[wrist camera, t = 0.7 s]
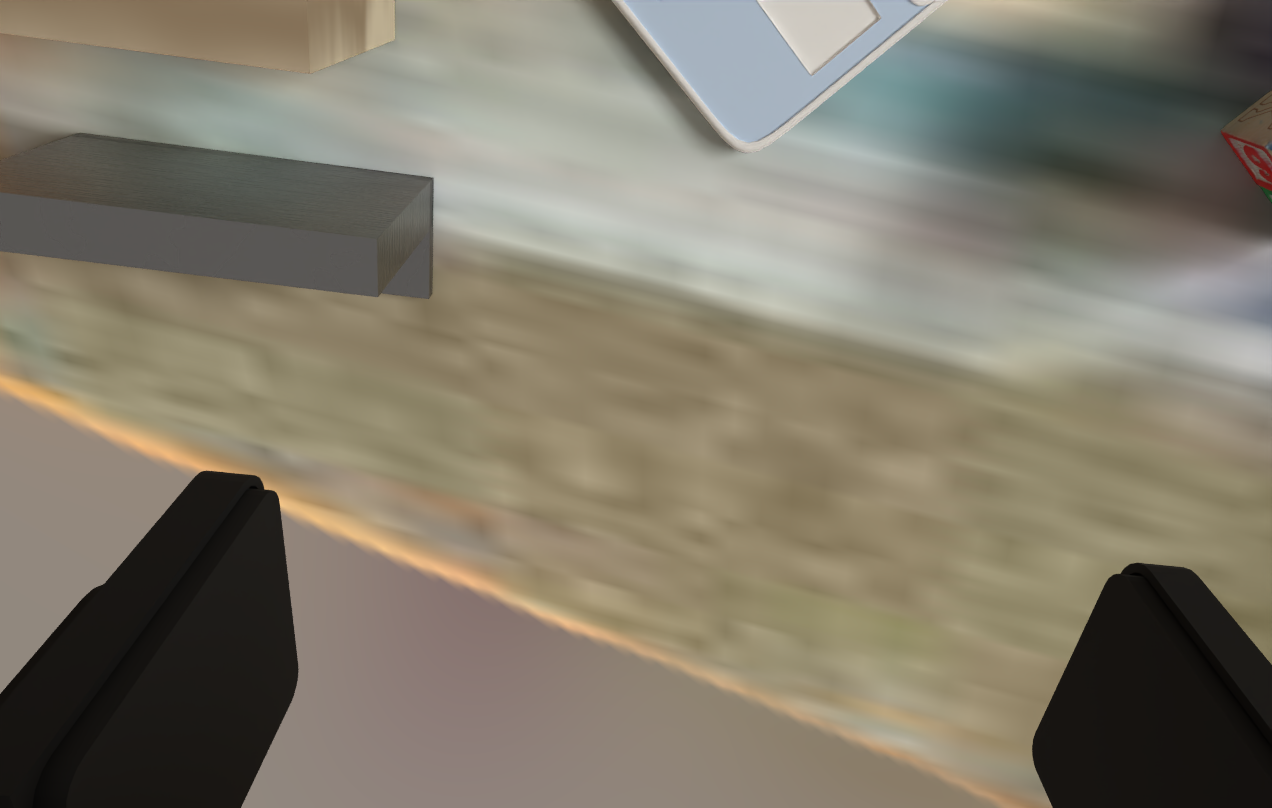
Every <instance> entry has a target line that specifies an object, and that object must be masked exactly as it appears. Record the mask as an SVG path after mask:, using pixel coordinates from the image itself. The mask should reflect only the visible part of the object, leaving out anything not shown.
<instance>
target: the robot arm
mask: <svg viewBox="0 0 1272 808" xmlns="http://www.w3.org/2000/svg"><path fill="white" fill-rule="evenodd" d="M297 680H298V661H297V651H296V643H295V634H294V625H293V616H292V608H291V599H290V590H289V581H288V573H287V564H286V555H285V546H284V538H283V530H282V520H281V512H280V503H279V498H278V495H277V493H276V492H275V491H273V490H264V486H263V483H262V481H261V479H260V478H259V477H257V476H255V475H245V474H235V473H225V472H215V471H203V472H200V473H199V474H198V475H197V476H195V477H194V479H193V480H192V481H191V482H190V483H189V484H188V486H187V487H186V488H185V489H184V490H183V492H182V493H181V494H180V495H179V496H178V497H177V499H176V500H175V501H174V502H173V503H172V505H171V506H170V507H169V508H168V509H167V511H166V512H165V513H164V514H163V515H162V517H161V518H160V519H159V520H158V521H157V522H156V523H155V525H154V526H153V527H152V528H151V530H150V531H149V532H148V533H147V534H146V535H145V537H144V538H143V539H142V540H141V541H140V542H139V544H138V545H137V546H136V547H135V548H134V549H133V551H132V552H131V553H130V554H129V555H128V557H127V558H126V559H125V560H124V561H123V563H122V564H121V565H120V566H119V567H118V568H117V570H116V571H115V572H114V573H113V574H112V575H111V577H110V578H109V579H108V580H107V581H106V583H105V584H103V585H101V586H98V587H96V588H94V589H93V590H91V591H90V592H89V593H88V594H87V595H86V596H85V597H84V598H83V599H82V600H81V601H80V602H79V603H78V604H77V606H76V607H75V608H74V609H73V610H72V611H71V612H70V614H69V615H68V616H67V617H66V618H65V619H64V621H63V622H62V623H61V624H60V625H59V627H57V629H56V630H55V631H54V632H53V633H52V634H51V636H50V637H49V638H48V639H47V640H46V641H45V643H44V644H43V645H42V646H41V647H40V648H39V650H38V651H37V652H36V653H35V654H34V655H33V657H32V658H31V659H30V660H29V661H28V662H27V664H26V665H25V666H24V667H23V668H22V669H21V671H20V672H19V673H18V674H17V675H16V676H15V678H14V679H13V680H12V681H11V682H10V683H9V685H8V686H7V687H6V688H5V689H4V690H3V691H2V693H1V694H0V808H241V806H242V804H243V802H244V800H245V798H246V796H247V793H248V792H249V789H250V787H251V785H252V783H253V781H254V779H255V777H256V775H257V773H258V770H259V768H260V766H261V764H262V762H263V760H264V758H265V756H266V754H267V751H268V749H269V747H270V745H271V743H272V741H273V739H274V737H275V735H276V732H277V730H278V729H279V726H280V724H281V722H282V720H283V718H284V716H285V714H286V712H287V710H288V707H289V705H290V703H291V701H292V698H293V696H294V693H295V689H296V685H297ZM1032 754H1033V761H1034V765H1035V768H1036V771H1037V773H1038V775H1039V778H1040V780H1041V782H1042V784H1043V787H1044V789H1045V791H1046V793H1047V796H1048V798H1049V800H1050V802H1051V805H1052V807H1053V808H1272V665H1271V663H1270V662H1269V661H1268V660H1267V659H1266V657H1265V656H1264V655H1263V654H1262V653H1261V651H1260V650H1259V649H1258V648H1257V647H1256V645H1255V644H1254V643H1253V642H1252V641H1251V639H1250V638H1249V637H1248V636H1247V635H1246V633H1245V632H1244V631H1243V630H1242V628H1241V627H1240V626H1239V625H1238V624H1237V622H1236V621H1235V620H1234V619H1233V618H1232V616H1231V615H1230V614H1229V613H1228V612H1227V610H1226V609H1225V608H1224V607H1223V606H1222V604H1221V603H1220V602H1219V601H1218V599H1217V598H1216V597H1215V596H1214V595H1213V593H1212V592H1211V591H1210V590H1209V589H1208V587H1207V586H1206V585H1205V584H1204V583H1203V581H1202V580H1201V579H1200V578H1199V577H1198V576H1197V575H1196V574H1195V573H1194V572H1193V571H1192V570H1190V569H1187V568H1184V567H1174V566H1164V565H1154V564H1144V563H1133V564H1130V565H1128V566H1127V567H1125V568H1124V569H1123V571H1122V572H1121V574H1115V575H1113V576H1111V577H1110V578H1109V579H1108V580H1107V582H1106V584H1105V585H1104V588H1103V590H1102V592H1101V594H1100V596H1099V598H1098V600H1097V603H1096V605H1095V607H1094V609H1093V611H1092V613H1091V615H1090V618H1089V620H1088V622H1087V624H1086V626H1085V628H1084V630H1083V632H1082V635H1081V637H1080V639H1079V641H1078V643H1077V645H1076V647H1075V650H1074V652H1073V654H1072V656H1071V658H1070V660H1069V662H1068V664H1067V667H1066V669H1065V671H1064V673H1063V675H1062V677H1061V679H1060V682H1059V684H1058V686H1057V688H1056V690H1055V692H1054V694H1053V697H1052V699H1051V701H1050V703H1049V705H1048V707H1047V709H1046V711H1045V714H1044V716H1043V718H1042V720H1041V722H1040V724H1039V726H1038V729H1037V731H1036V733H1035V736H1034V739H1033V745H1032Z"/></svg>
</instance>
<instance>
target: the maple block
mask: <svg viewBox="0 0 1272 808" xmlns="http://www.w3.org/2000/svg"><path fill="white" fill-rule="evenodd" d="M0 33H3V34H11V35H18V36H26V37H34V38H41V39H49V40H57V41H64V42H72V43H79V44H87V45H95V46H102V47H110V48H118V49H125V50H133V51H140V52H148V53H156V54H163V55H171V56H179V57H186V58H194V59H201V60H209V61H217V62H224V63H232V64H239V65H247V66H255V67H262V68H270V69H278V70H285V71H293V72H300V73H308V74H311V73H313V72H316V71H318V70H321V69H323V68H326V67H328V66H331V65H333V64H336V63H338V62H341V61H343V60H346V59H348V58H351V57H353V56H356V55H358V54H361V53H363V52H366V51H368V50H371V49H373V48H376V47H378V46H381V45H383V44H386V43H388V42H391V41H393V40H395V0H0Z"/></svg>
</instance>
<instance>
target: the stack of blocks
mask: <svg viewBox="0 0 1272 808" xmlns="http://www.w3.org/2000/svg"><path fill="white" fill-rule="evenodd" d="M1221 133H1222V135H1223V136H1224V138H1225V139H1226V141H1227V142H1228V144H1229V145H1230V146H1231V148H1232V149H1233V151H1234V152H1235V154H1236V155H1237V157H1238V158H1239V160H1240V161H1241V162H1242V164H1243V165H1244V167H1245V168H1246V169H1247V171H1248V172H1249V174H1250V175H1251V176H1252V178H1253V180H1254V181H1255V183H1256V184H1258V185H1259V186H1260V187H1261V189H1262V190H1263V191H1264V193H1265V194H1266V196H1267V197H1268V199H1269V200H1270V202H1271V203H1272V90H1271V91H1270V92H1268V93H1267V94H1266V95H1265V96H1263V97H1262V98H1261V99H1259V100H1258V101H1257V102H1255V103H1254V104H1253V105H1252V106H1250V107H1249V108H1248V109H1246V110H1245V111H1244V112H1242V113H1241V114H1240V115H1239V116H1237V117H1236V118H1235V119H1233V120H1232V121H1231V122H1230V123H1228V124H1227V125H1226V126H1224V127H1223V129H1222V130H1221Z"/></svg>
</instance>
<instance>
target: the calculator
mask: <svg viewBox="0 0 1272 808" xmlns="http://www.w3.org/2000/svg"><path fill="white" fill-rule="evenodd" d="M611 1H612V2H613V3H614V4H615V6H616V7H617V8H618V9H619V11H620V12H621V13H622V14H623V16H624V17H625V18H626V19H627V21H628V22H629V23H630V24H631V26H632V27H633V28H634V29H635V31H636V32H637V33H638V35H639V36H640V37H641V38H642V40H643V41H644V42H645V43H646V45H647V46H648V47H649V48H650V50H651V51H652V52H653V53H654V55H655V56H656V57H657V58H658V60H659V61H660V62H661V63H662V65H663V66H664V67H665V69H666V70H667V71H668V72H669V74H670V75H671V76H672V77H673V79H674V80H675V81H676V82H677V84H678V85H679V86H680V87H681V89H682V90H683V91H684V92H685V94H686V95H687V96H688V97H689V99H690V100H691V101H692V103H693V104H694V105H695V106H696V108H697V109H698V110H699V111H700V113H701V114H702V115H703V116H704V118H705V119H706V120H707V121H708V123H709V124H710V125H711V126H712V128H713V129H714V130H715V131H716V132H717V133H718V134H719V135H720V137H721V138H722V139H723V140H724V141H725V142H726V143H727V144H729V145H730V146H731V147H732V148H734V149H735V150H737V151H740V152H744V153H751V152H756V151H759V150H761V149H762V148H764V147H766V146H768V145H770V144H771V143H773V142H774V141H775V140H777V139H778V138H779V137H781V136H782V135H783V134H785V133H786V132H787V131H789V130H790V129H791V128H792V127H794V126H795V125H796V124H797V123H799V122H800V121H801V120H802V119H804V118H805V117H806V116H807V115H808V114H810V113H811V112H812V111H813V110H815V109H816V108H817V107H818V106H819V105H821V104H822V103H823V102H824V101H826V100H827V99H828V98H829V97H830V96H832V95H833V94H834V93H835V92H837V91H838V90H839V89H840V88H841V87H843V86H844V85H845V84H846V83H847V82H849V81H850V80H851V79H852V78H854V77H855V76H856V75H857V74H858V73H860V72H861V71H862V70H863V69H865V68H866V67H867V66H868V65H869V64H871V63H872V62H873V61H874V60H876V59H877V58H878V57H879V56H880V55H882V54H883V53H884V52H885V51H887V50H888V49H889V48H890V47H891V46H893V45H894V44H895V43H896V42H897V41H899V40H900V39H901V38H902V37H904V36H905V35H906V34H907V33H908V32H910V31H911V30H912V29H913V28H915V27H916V26H917V25H918V24H919V23H921V22H922V21H923V20H924V19H926V18H927V17H928V16H929V15H930V14H932V13H933V12H934V11H935V10H937V9H938V8H939V7H940V6H941V5H943V4H944V3H945V2H946V1H947V0H611Z"/></svg>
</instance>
